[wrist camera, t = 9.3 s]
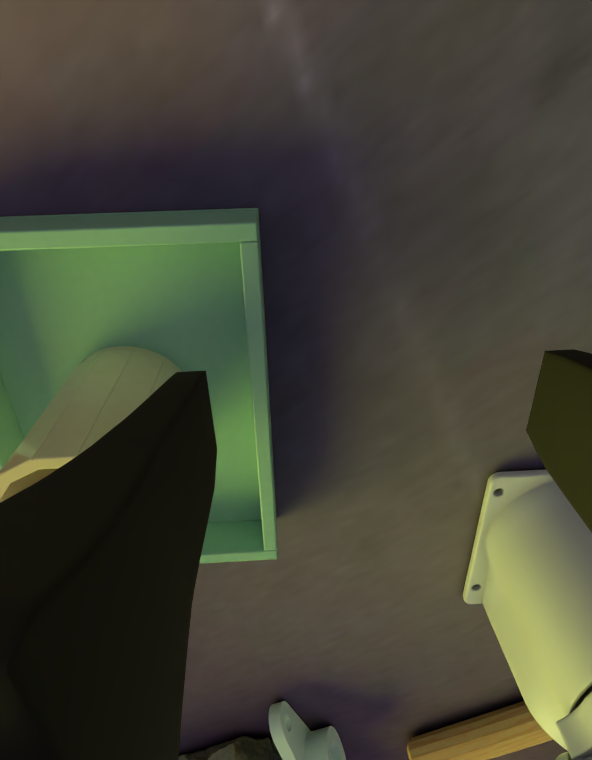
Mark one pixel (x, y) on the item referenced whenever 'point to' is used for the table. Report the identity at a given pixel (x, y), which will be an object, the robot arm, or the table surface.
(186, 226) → the tray
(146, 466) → the robot arm
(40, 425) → the cup
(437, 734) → the hammer
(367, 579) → the table surface
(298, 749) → the mechanical part
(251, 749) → the stone block
